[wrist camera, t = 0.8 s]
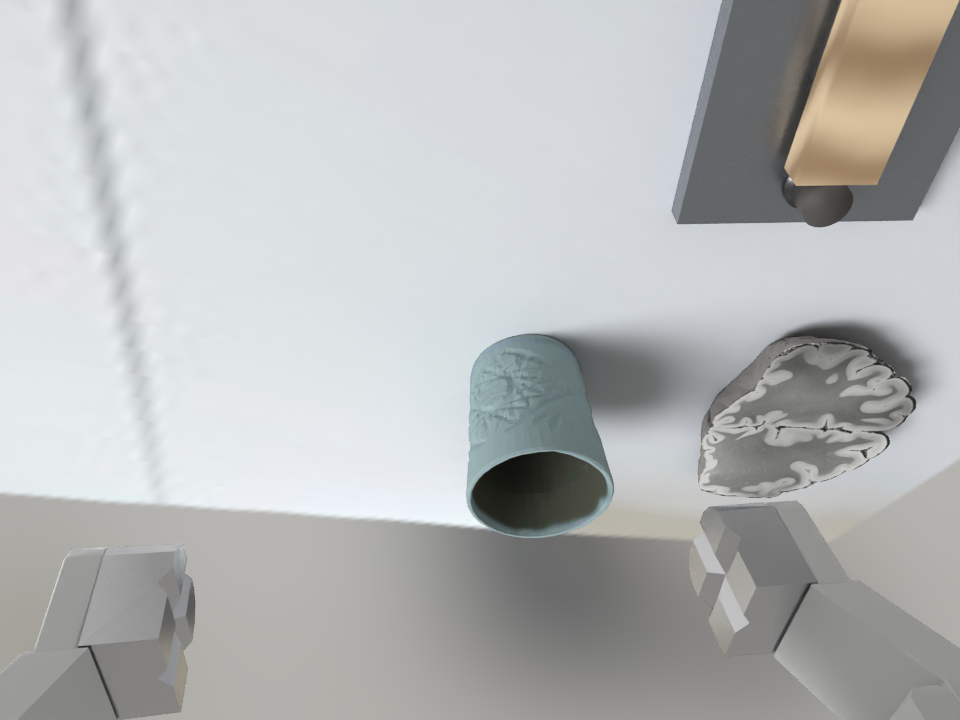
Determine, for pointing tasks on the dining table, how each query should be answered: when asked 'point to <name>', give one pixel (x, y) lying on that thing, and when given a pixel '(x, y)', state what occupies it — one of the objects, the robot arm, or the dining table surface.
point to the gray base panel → (797, 119)
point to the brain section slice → (800, 418)
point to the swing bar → (861, 99)
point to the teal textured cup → (533, 441)
